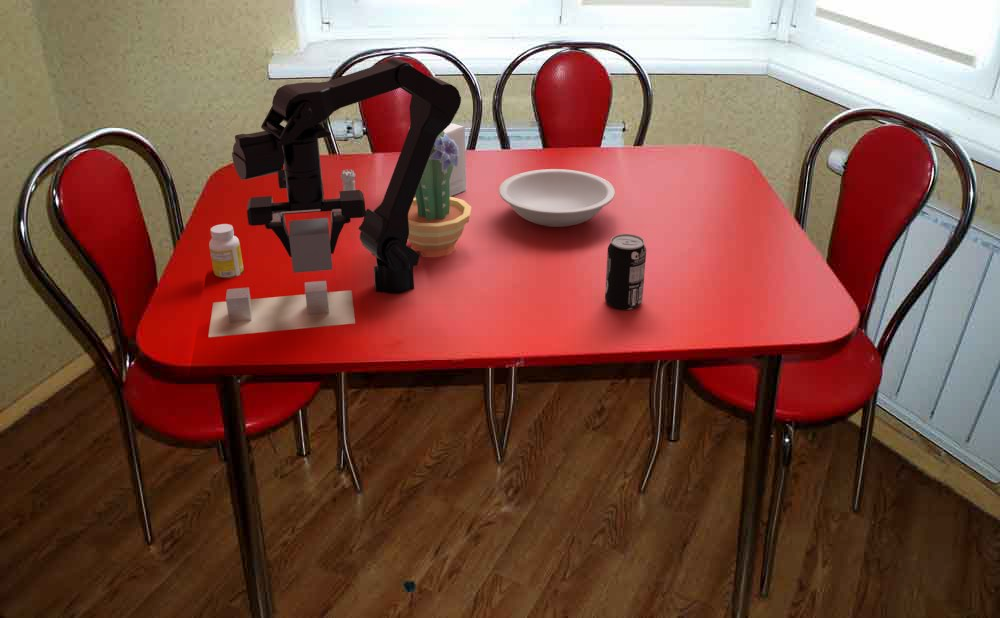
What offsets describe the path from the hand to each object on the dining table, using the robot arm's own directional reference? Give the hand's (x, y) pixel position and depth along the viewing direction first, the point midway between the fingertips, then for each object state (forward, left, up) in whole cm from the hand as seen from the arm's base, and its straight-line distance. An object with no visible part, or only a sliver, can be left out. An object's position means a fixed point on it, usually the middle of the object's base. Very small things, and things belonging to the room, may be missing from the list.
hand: (311, 254), depth 161 cm
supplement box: (-28, -52, -12) cm, 60 cm away
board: (+6, 0, -12) cm, 13 cm away
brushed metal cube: (+13, 0, -12) cm, 17 cm away
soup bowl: (-50, -32, -12) cm, 61 cm away
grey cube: (0, 0, -12) cm, 12 cm away
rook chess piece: (-8, -47, -12) cm, 49 cm away
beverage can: (-53, +6, -12) cm, 55 cm away
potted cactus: (-23, -23, -12) cm, 35 cm away
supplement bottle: (+16, -18, -12) cm, 27 cm away
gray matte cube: (0, 0, -2) cm, 2 cm away
